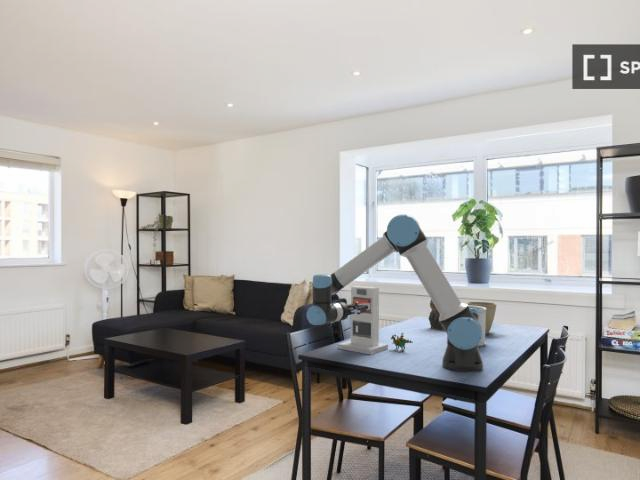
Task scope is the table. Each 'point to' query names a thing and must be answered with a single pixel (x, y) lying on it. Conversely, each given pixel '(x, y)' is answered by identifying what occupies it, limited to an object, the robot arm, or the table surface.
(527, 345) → the table surface
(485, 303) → the plant pot
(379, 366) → the table surface
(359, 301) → the red rocker
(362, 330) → the black rocker
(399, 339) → the figurine
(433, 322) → the owl
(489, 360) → the table surface
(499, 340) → the table surface
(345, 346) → the rocker switch stand
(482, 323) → the utensil holder
